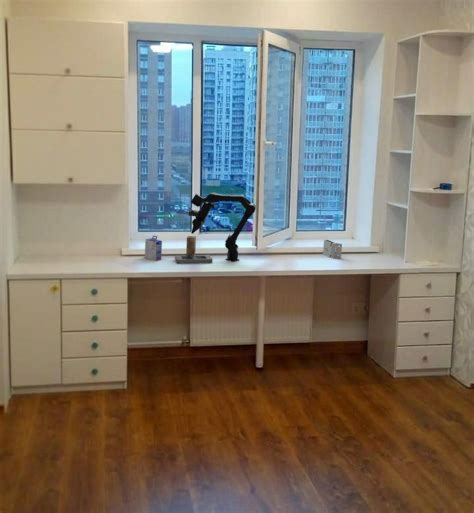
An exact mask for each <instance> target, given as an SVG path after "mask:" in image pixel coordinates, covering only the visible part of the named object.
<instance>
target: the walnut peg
mask: <svg viewBox="0 0 474 513" xmlns="http://www.w3.org/2000/svg"><path fill="white" fill-rule="evenodd" d="M196 241H197V235H196V236H194V235H193V236H191V235H188V236H187V237H186V247H185V248H186V253H185V256H196V250H197V249H196V248H197V247H196V245H197V242H196Z"/></svg>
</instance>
